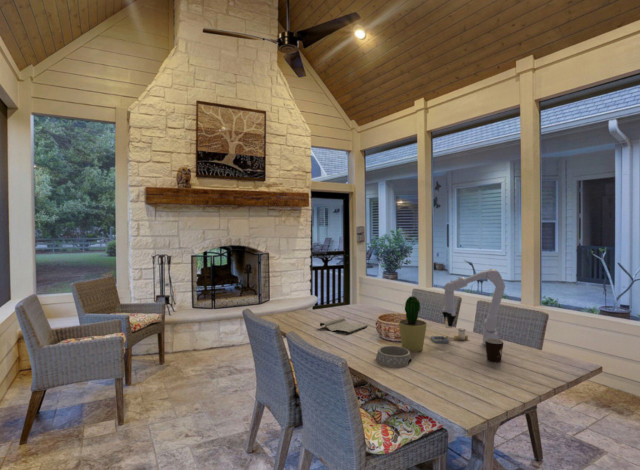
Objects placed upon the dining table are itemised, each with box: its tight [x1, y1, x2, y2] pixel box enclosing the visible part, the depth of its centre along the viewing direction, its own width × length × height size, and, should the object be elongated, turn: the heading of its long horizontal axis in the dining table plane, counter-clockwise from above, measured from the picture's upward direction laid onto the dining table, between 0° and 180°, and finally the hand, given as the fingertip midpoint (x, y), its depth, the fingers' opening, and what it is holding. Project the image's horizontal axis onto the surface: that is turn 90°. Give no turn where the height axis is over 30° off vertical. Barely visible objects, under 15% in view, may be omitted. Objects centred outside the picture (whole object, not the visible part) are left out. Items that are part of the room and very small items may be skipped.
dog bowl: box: [375, 345, 413, 368], centre depth 194 cm, size 17×18×5 cm
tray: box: [430, 335, 450, 344], centre depth 224 cm, size 8×8×2 cm
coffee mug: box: [485, 339, 505, 363], centre depth 194 cm, size 12×9×10 cm
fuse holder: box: [444, 334, 471, 342], centre depth 227 cm, size 7×14×3 cm, turn 93°
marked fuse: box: [444, 317, 453, 329], centre depth 226 cm, size 4×4×6 cm
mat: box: [319, 316, 369, 334], centre depth 254 cm, size 23×24×5 cm
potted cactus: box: [398, 295, 428, 353], centre depth 212 cm, size 15×15×30 cm
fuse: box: [457, 327, 466, 340], centre depth 227 cm, size 4×4×6 cm
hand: (448, 325), depth 226 cm, fingers closed on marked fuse, 4 cm apart
